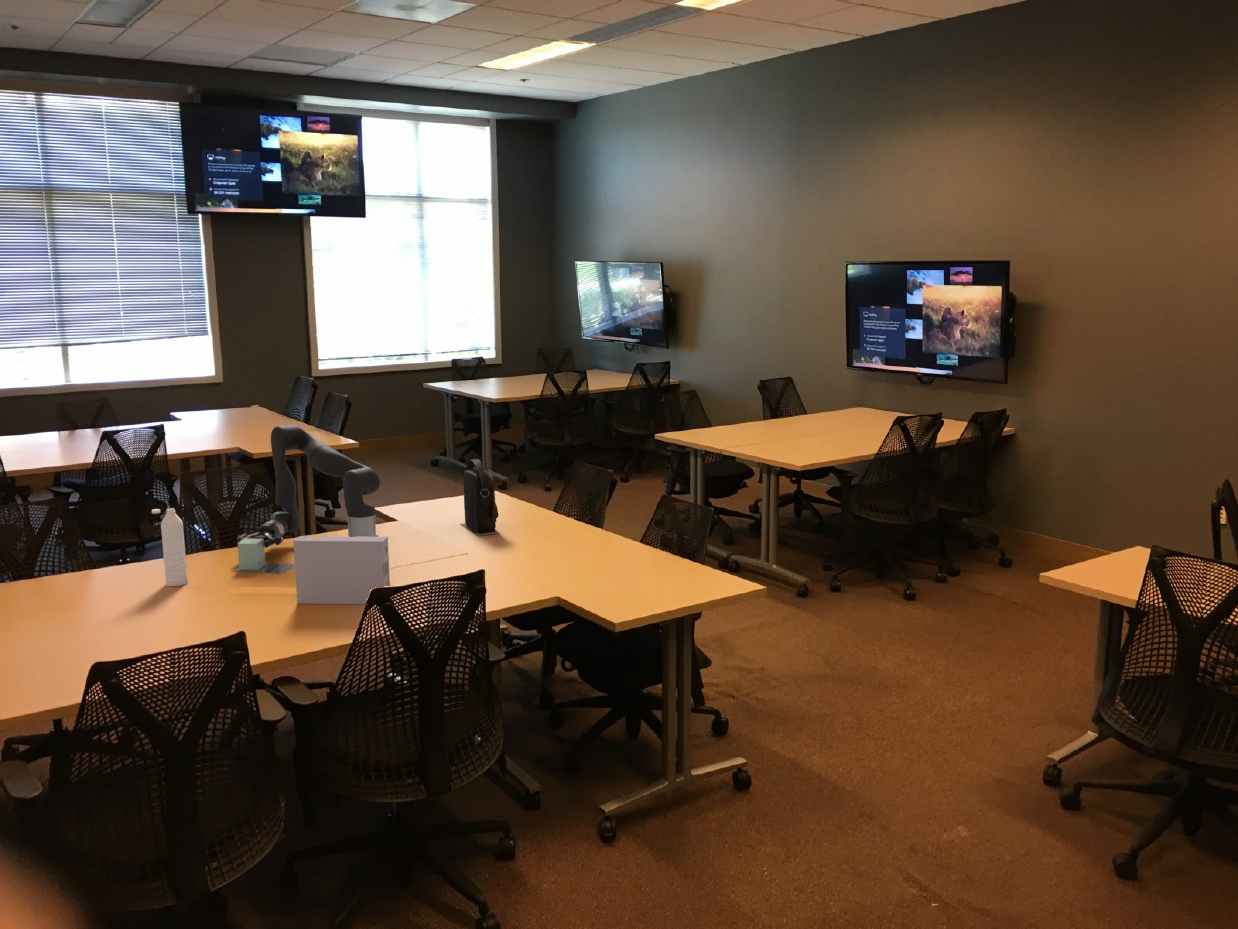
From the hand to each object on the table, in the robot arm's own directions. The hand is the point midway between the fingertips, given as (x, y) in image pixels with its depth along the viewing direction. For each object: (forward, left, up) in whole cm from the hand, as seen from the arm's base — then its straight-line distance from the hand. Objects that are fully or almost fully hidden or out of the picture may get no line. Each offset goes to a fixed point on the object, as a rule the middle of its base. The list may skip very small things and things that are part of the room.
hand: (252, 545), depth 333 cm
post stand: (-5, +2, -9) cm, 10 cm away
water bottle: (+17, +20, -9) cm, 28 cm away
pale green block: (0, +1, -7) cm, 7 cm away
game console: (-45, +26, -9) cm, 52 cm away
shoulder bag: (-57, -68, -9) cm, 89 cm away
